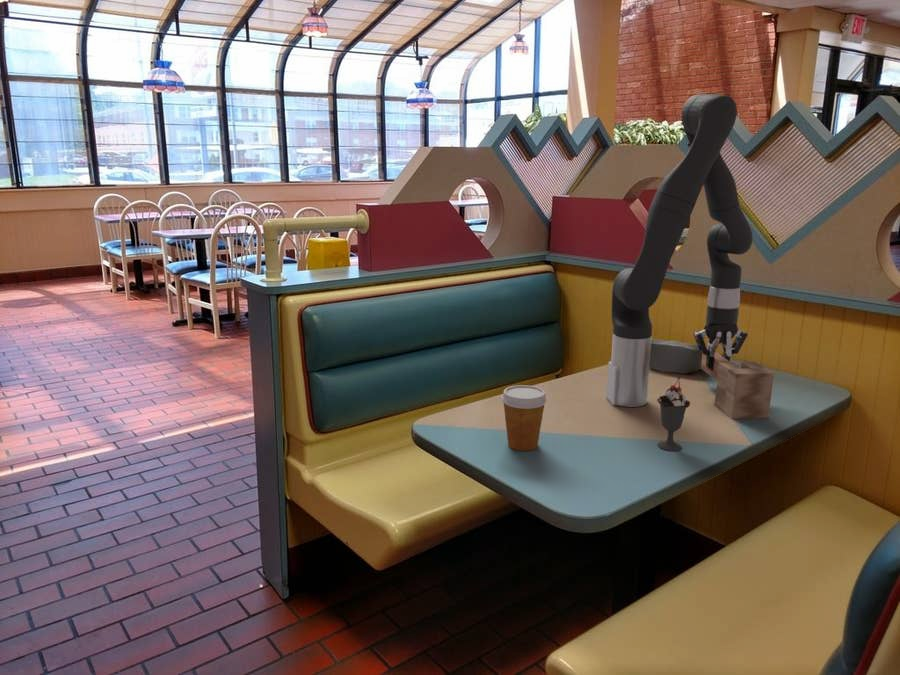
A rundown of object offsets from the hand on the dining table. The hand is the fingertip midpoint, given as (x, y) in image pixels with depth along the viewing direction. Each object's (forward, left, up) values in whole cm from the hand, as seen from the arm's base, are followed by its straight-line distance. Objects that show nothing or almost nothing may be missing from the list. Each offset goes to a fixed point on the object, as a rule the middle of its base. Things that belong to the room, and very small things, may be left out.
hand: (717, 369), depth 184 cm
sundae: (-25, -34, -6) cm, 43 cm away
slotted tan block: (0, -15, -6) cm, 16 cm away
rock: (-3, +22, -6) cm, 23 cm away
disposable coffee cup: (-56, -31, -6) cm, 64 cm away
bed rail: (0, -4, -2) cm, 4 cm away
